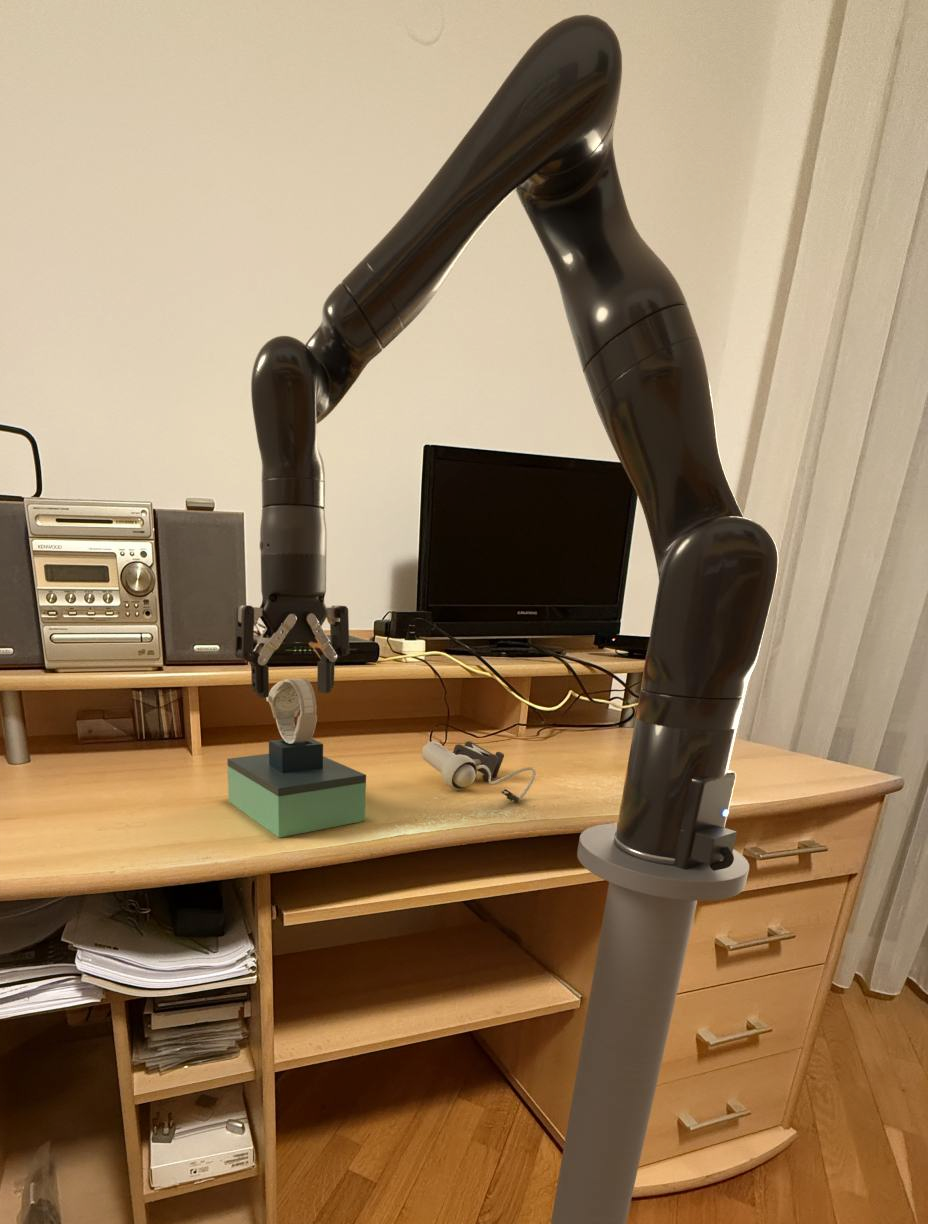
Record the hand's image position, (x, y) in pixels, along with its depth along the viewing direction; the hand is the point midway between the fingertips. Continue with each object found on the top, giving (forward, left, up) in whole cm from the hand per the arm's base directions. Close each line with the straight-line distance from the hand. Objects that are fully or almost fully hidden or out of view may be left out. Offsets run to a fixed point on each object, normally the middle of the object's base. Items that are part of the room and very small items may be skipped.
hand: (294, 694), depth 77 cm
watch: (0, 0, -9) cm, 9 cm away
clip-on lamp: (-3, -29, -15) cm, 33 cm away
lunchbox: (0, 0, -15) cm, 15 cm away
